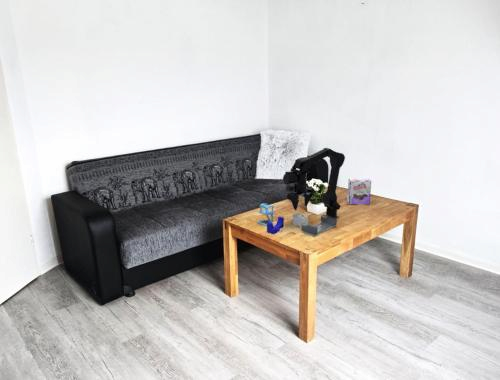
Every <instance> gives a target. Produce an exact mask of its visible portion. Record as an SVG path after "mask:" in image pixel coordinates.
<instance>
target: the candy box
mask: <svg viewBox="0 0 500 380" xmlns="http://www.w3.org/2000/svg"><path fill="white" fill-rule="evenodd" d="M347 181H348V183H347V184H348V185H347V197H346V202H348V203H347V204H348V205H349V204H371V192H372V191H371V190H372V180H371V179H370V178H348V179H347Z"/></svg>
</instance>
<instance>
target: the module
mask: <svg viewBox="0 0 500 380" xmlns="http://www.w3.org/2000/svg"><path fill="white" fill-rule="evenodd" d="M302 223H308V224H309V216H308V215H305V214H303V213H301V212H295V213H293V214H292V225H295V226H297V227H300V228H301V226H302Z"/></svg>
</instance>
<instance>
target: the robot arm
mask: <svg viewBox="0 0 500 380" xmlns="http://www.w3.org/2000/svg"><path fill="white" fill-rule="evenodd" d="M326 157H327V158H329V165H330V171H329V172H330V173H329V178H328V184H327V188H326V189H327V190H326V192H325V193H324V192H323V193H322V198H321V202H322V204H323V206H324V208H326V211H325V213H326V214H325V215H327V216H330V217H334V218H337V219H339V218H340V217H339V216H338V210H340V208H341V205H340V203H338V196H337V193H336V192H337V186H338V182H339V174H340V170H341V168H342V166H343V165H344V162H345V160H346V156H345V155H344V153H342V152H337V151H335V150H333V149H331V148H328V147H324V148H323V149H320V150H319V151H317V152H314V153H313V154H311V155H308V156H303V157H299V158H296V159H295V160H294V163H293V165H292V167H291V168H290V171H285V172H284V173H285V174H283V177H282V181H283V183H284V184H285V190H286V192H288V193H287V194H286V195H285V197H286V199H287V200H289V201H290V202H291V204H292V207H293V209H294V211H297V210H298V206H299V202H300V199H299V198H300V196H303V198H304V199H303V201H304V202H303V203H304V206H305V207H308V204H309V203H310V201H311V199H312V197H313V196H314V195H315V194H316V189H315V188H313V187H309V185H308V182H307V174H310V173H311V172H310V170H308V169H309V168H311V166H312V165H314V164H315V163H317V162H319V161H321V160H323V159H325V158H326ZM292 184H293V185H292ZM307 186H308V187H307Z"/></svg>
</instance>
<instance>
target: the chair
mask: <svg viewBox="0 0 500 380" xmlns="http://www.w3.org/2000/svg"><path fill="white" fill-rule="evenodd" d="M274 207H275V205H271V204H268V203H265V202H263V203H261V204H259V211H258V214H262V215H265V216H266V218H267V219H262V220H258V221H257V222H256V223H257V224H258V223H259V224H258V225H261V224H262V225H261V226H264V227H267V222H271V223H274V215H275V211H274ZM269 208H271V209H269ZM265 222H266V223H265Z"/></svg>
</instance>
